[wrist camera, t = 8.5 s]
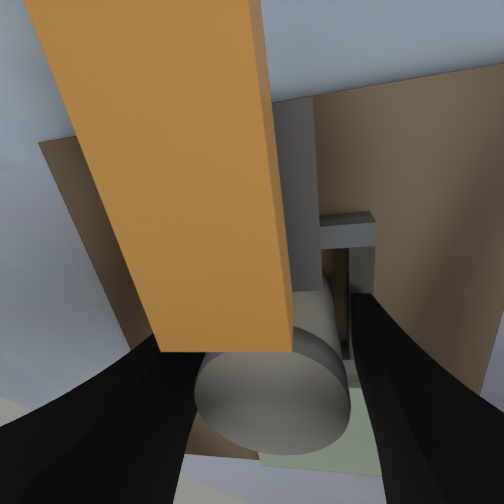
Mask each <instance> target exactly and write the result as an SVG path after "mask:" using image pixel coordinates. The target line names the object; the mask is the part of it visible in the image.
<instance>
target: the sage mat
mask: <svg viewBox="0 0 504 504" xmlns="http://www.w3.org/2000/svg"><path fill="white" fill-rule="evenodd" d="M348 387H349V393H350V400H351V413H350V421H349V424H348V427H347V428H346V430H345V432H344V433H343V435H342V436H341V437H340V438H339V439H338V440H337V441H335V442H334V443H333V444H331V445H329V446H328V447H325V448H323V449H321V450H318V451H315V452H312V453H307V454H301V455H273V454H266V453H261V452H258V455H259V459H260V464H261V466H271V467H283V468H294V469H306V470H317V471H329V472H340V473H352V474H363V475H375V476H382V473H381V467H380V462H379V456H378V451H377V446H376V442H375V437H374V433H373V429H372V426H371V422H370V418H369V415H368V411H367V407H366V404H365V400H364V396H363V393H362V389H361V385H360V383H357V382H348Z"/></svg>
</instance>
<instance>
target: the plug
mask: <svg viewBox="0 0 504 504" xmlns="http://www.w3.org/2000/svg"><path fill="white" fill-rule="evenodd" d="M322 280H323V291H300V292H292V294H293V303H294V319H293V341H292V353H263V352H206V354H205V356H204V359H203V362H202V364H201V367H200V369H199V372H198V375H197V378H196V382H195V392H194V397H195V403H196V407H197V409H198V411H199V413H200V415H201V416H202V418H203V419H204V421H205V422H206V423H207V424H208V425H209V426H210V427H211V428H212V429H213V430H214V431H216V432H217V433H218V434H219V435H221V436H222V437H224V438H225V439H227V440H229V441H231V442H233V443H235V444H237V445H239V446H241V447H244V448H247V449H250V450H253V451H257V452H261V453H266V454H273V455H301V454H307V453H312V452H315V451H318V450H321V449H323V448H325V447H328V446H329V445H331V444H333V443H334V442H335V441H337V440H338V439H339V438H340V437H341V436H342V435H343V433H344V432H345V430H346V428H347V427H348V424H349V421H350V413H351V400H350V393H349V387H348V380H347V374H346V370H345V367H344V364H343V360H342V353H341V346H340V339H339V332H338V326H337V319H336V312H335V305H334V298H333V291H332V286H331V283H330V281H329V279H328V277H327V275H326V274H325V272H324V271H323V270H322Z"/></svg>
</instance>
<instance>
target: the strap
mask: <svg viewBox="0 0 504 504" xmlns="http://www.w3.org/2000/svg"><path fill="white" fill-rule="evenodd" d="M24 2H25V5H26V8H27V10H28V13H29V15H30V18H31V20H32V23H33V25H34V28H35V31H36V33H37V36H38V38H39V41H40V43H41V46H42V49H43V51H44V54H45V56H46V59H47V61H48V64H49V66H50V69H51V72H52V74H53V77H54V79H55V82H56V84H57V87H58V90H59V92H60V95H61V97H62V100H63V102H64V105H65V108H66V110H67V113H68V115H69V118H70V120H71V123H72V125H73V128H74V131H75V133H76V136H77V138H78V141H79V143H80V146H81V149H82V151H83V154H84V156H85V159H86V161H87V164H88V166H89V169H90V172H91V174H92V177H93V179H94V182H95V184H96V187H97V190H98V192H99V195H100V197H101V200H102V202H103V205H104V207H105V210H106V213H107V215H108V218H109V220H110V223H111V225H112V228H113V231H114V233H115V236H116V238H117V241H118V243H119V246H120V248H121V251H122V254H123V256H124V259H125V261H126V264H127V266H128V269H129V272H130V274H131V277H132V279H133V282H134V284H135V287H136V289H137V292H138V295H139V297H140V300H141V302H142V305H143V307H144V310H145V313H146V315H147V318H148V320H149V323H150V325H151V328H152V331H153V333H154V336H155V338H156V341H157V343H158V346H159V348H160V351H161V352H263V353H292V341H293V319H294V303H293V294H292V285H291V275H290V266H289V257H288V248H287V239H286V230H285V221H284V212H283V203H282V193H281V184H280V175H279V166H278V157H277V148H276V139H275V130H274V121H273V111H272V102H271V93H270V84H269V75H268V66H267V57H266V48H265V38H264V29H263V20H262V11H261V2H260V0H24Z"/></svg>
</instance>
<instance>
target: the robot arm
mask: <svg viewBox="0 0 504 504" xmlns="http://www.w3.org/2000/svg"><path fill="white" fill-rule="evenodd" d="M351 340H352V347H353V354H354V360H355V366H356V370H357V374H358V378H359V382H360V385H361V389H362V393H363V396H364V400H365V404H366V407H367V411H368V415H369V418H370V422H371V426H372V429H373V433H374V437H375V442H376V446H377V451H378V456H379V462H380V467H381V473H382V479H383V484H384V490H385V496H386V502H387V504H504V413H503V412H502V411H500V410H499V409H497V408H496V407H495V406H493V405H492V404H490V403H489V402H487V401H486V400H485V399H483V398H482V397H480V396H479V395H477V394H476V393H475V392H473V391H472V390H471V389H469V388H468V387H467V386H465V385H464V384H463V383H462V382H460V381H459V380H458V379H457V378H455V377H454V376H453V375H452V374H450V373H449V372H448V371H447V370H446V369H444V368H443V367H442V366H441V365H440V364H439V363H438V362H436V361H435V360H434V359H433V358H432V357H431V356H430V355H429V354H428V353H426V352H425V351H424V350H423V349H422V348H421V347H420V346H419V345H418V344H417V343H416V342H415V341H414V340H413V339H412V338H411V337H410V336H409V335H408V334H407V333H406V332H405V331H404V330H403V329H402V328H401V327H400V326H399V325H398V324H397V323H396V322H395V321H394V319H393V318H392V317H391V316H390V315H389V314H388V313H387V312H386V310H385V309H384V308H383V307H382V306H381V305H380V303H379V302H378V301H377V300H376V298H375V297H374V296H373V295H372V294H371V293H355V294H351ZM205 354H206V352H161V351H160V348H159V346H158V343H157V341H156V338H155V336H154V333H153V334H151V335H150V336H149V337H148V338H146V339H145V340H144V341H143V342H141V343H140V344H139V345H138V346H136V347H135V348H134V349H133V350H131V351H130V352H129V353H127V354H126V355H125V356H123V357H122V358H121V359H119V360H118V361H116V362H115V363H114V364H112V365H111V366H109V367H108V368H106V369H105V370H103V371H102V372H100V373H99V374H97V375H96V376H94V377H92V378H91V379H89V380H87V381H86V382H84V383H82V384H81V385H79V386H77V387H76V388H74V389H72V390H71V391H69V392H67V393H66V394H64V395H62V396H60V397H59V398H57V399H55V400H53V401H51V402H49V403H48V404H46V405H44V406H42V407H40V408H38V409H36V410H34V411H32V412H30V413H28V414H26V415H24V416H22V417H20V418H18V419H16V420H14V421H12V422H10V423H7V424H5V425H3V426H1V427H0V504H173V500H174V495H175V492H176V487H177V483H178V479H179V474H180V470H181V466H182V462H183V458H184V454H185V450H186V446H187V442H188V438H189V435H190V432H191V428H192V425H193V422H194V419H195V417H196V414H197V411H198V409H197V407H196V403H195V397H194V392H195V382H196V378H197V375H198V372H199V369H200V367H201V364H202V362H203V359H204V356H205Z"/></svg>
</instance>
